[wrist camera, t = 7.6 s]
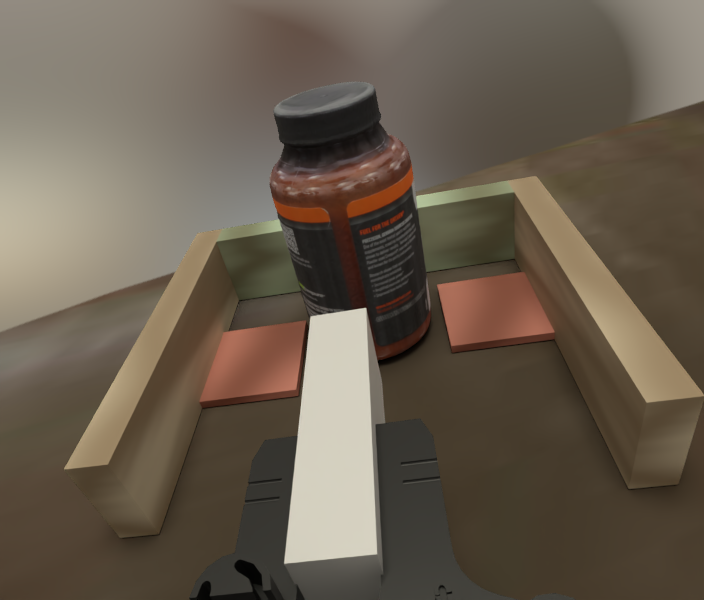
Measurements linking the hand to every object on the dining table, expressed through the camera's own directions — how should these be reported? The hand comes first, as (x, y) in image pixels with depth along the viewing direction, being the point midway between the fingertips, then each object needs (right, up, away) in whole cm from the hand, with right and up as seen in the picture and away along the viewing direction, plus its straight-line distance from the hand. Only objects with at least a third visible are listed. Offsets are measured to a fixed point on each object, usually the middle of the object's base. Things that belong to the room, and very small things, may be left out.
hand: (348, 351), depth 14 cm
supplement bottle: (+1, 0, +12) cm, 12 cm away
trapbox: (+1, -1, +10) cm, 10 cm away
